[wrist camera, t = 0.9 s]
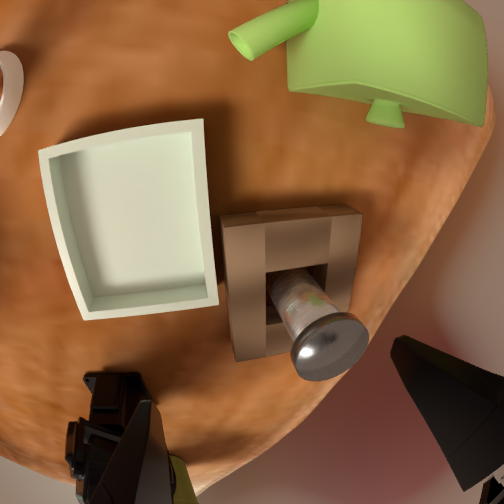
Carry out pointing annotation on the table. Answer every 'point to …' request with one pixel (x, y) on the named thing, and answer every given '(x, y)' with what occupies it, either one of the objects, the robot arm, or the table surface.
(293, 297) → the spice jar
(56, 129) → the table surface
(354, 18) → the gearbox
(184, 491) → the plant pot
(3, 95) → the vr controller
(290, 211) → the block
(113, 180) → the tray
